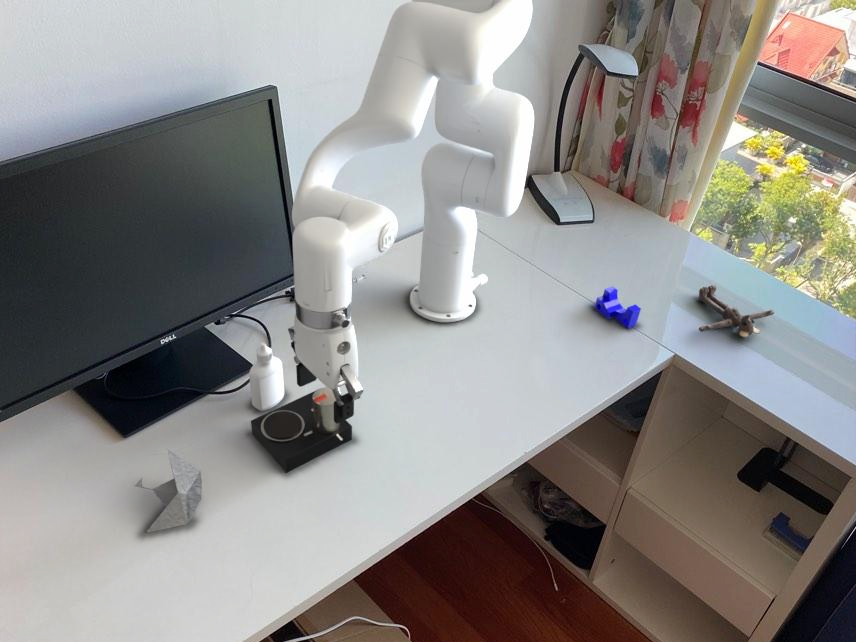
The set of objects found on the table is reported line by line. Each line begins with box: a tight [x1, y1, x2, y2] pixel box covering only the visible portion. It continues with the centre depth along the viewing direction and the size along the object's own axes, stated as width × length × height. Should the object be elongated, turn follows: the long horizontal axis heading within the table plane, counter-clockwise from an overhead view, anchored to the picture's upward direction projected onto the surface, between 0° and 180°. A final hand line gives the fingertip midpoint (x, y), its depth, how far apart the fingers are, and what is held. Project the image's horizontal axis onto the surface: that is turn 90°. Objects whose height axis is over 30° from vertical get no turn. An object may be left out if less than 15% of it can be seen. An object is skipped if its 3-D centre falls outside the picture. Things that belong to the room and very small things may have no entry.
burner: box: [261, 411, 305, 442], centre depth 123 cm, size 7×7×1 cm
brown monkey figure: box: [698, 284, 775, 338], centre depth 156 cm, size 18×4×14 cm
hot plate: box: [250, 390, 353, 474], centre depth 125 cm, size 13×12×3 cm
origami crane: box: [134, 448, 203, 534], centre depth 113 cm, size 12×6×9 cm
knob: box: [313, 386, 340, 434], centre depth 122 cm, size 4×4×6 cm
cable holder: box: [594, 286, 642, 329], centre depth 154 cm, size 8×4×4 cm, turn 32°
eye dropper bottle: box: [248, 342, 285, 412], centre depth 127 cm, size 4×6×12 cm
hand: (324, 400), depth 120 cm, fingers open, 9 cm apart
